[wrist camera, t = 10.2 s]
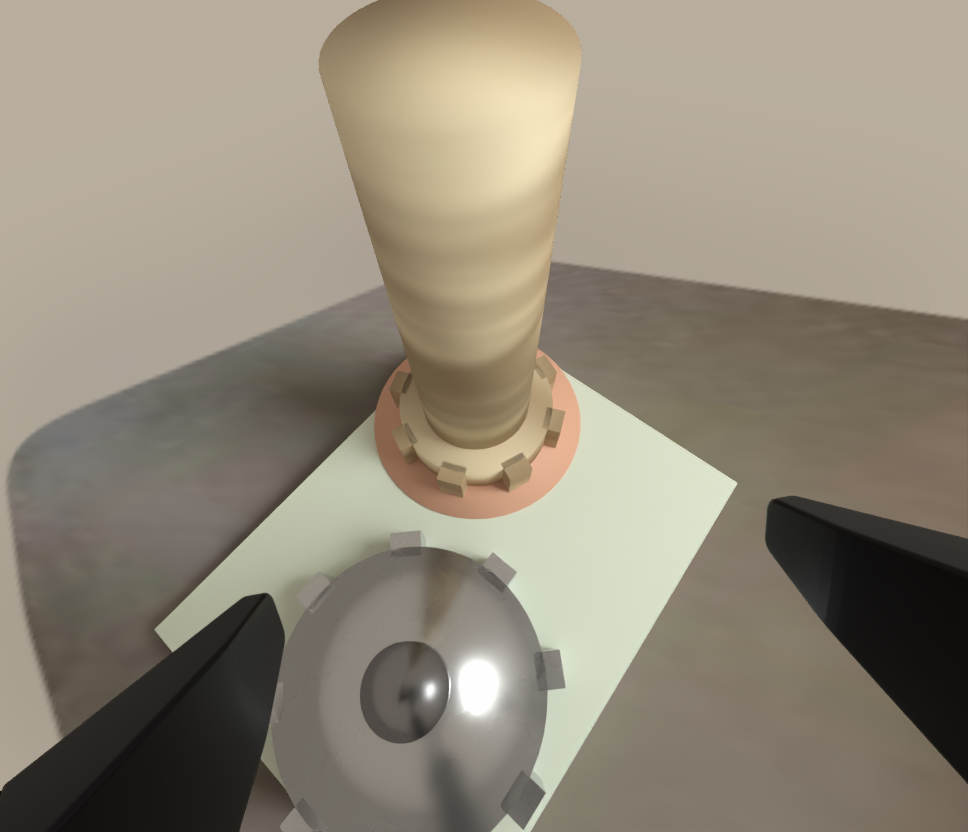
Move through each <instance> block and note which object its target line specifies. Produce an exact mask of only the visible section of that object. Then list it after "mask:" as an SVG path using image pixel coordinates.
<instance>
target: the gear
mask: <svg viewBox="0 0 968 832" xmlns="http://www.w3.org/2000/svg"><path fill="white" fill-rule="evenodd" d="M390 540H391V550H388V551H385V552H382V553H379V554H375V555H373V556H371V557H369V558H366V559H364V560H362V561H360V562H358V563H356V564H355V565H353V566H352V567H350V568H348V569H347V570H345V571H344V572H342V573H341V574H340V575H339V576H337V577H336V578H334V577H332V576H330V575H327V574H324V573H322V572H318V573H317V574H316V575H315V576H314V577H313V578H312V579H311V581H310V582H309V583H308V584H307V585H306V586H305V587H304V588H303V589H302V590H301V591H300V593H299V594H298V595H297V596H296V599H297V600H298V601H299V602H300V603H301V604H302V605H303V606H304V607H305V608H306V610H305V612H304V613H303V615H302V616H301V618H300V619H299V621H298V623H297V624H296V626H295V628H294V630H293V632H292V634H291V636H290V638H289V640H288V642H287V644H286V647H285V649H284V652H283V656H282V661H281V666H280V672H279V677H278V682H277V687H276V693H275V698H274V703H273V708H272V714H271V719H270V724H271V728H272V739H273V748H274V753H275V757H276V762H277V767H278V770H279V773H280V775H281V778H282V781H283V784H284V787H285V789H286V791H287V793H288V795H289V797H290V799H291V801H292V803H293V805H294V809H293V810H292V811H291V812H290V814H289V815H288V816H287V818H286V819H285V820H284V821H283V823H282V824H281V825H280V829H281V830H282V831H283V832H491V831H492V830H493V829H494V828H495V827H496V826H497V824H498V823H499V822H500V821H501V820H502V819H503V818H504V817H505V816H506V815H507V814H508V815H509V816H510V817H511V818H512V819H513V820H514V821H515V822H516V823H517V824H518V825H519V826H520V827H521V828H522V829H523V830H524V829H525V827H526V825H527V824H528V822H529V820H530V819H531V817H532V815H533V814H534V812H535V810H536V809H537V807H538V805H539V804H540V802H541V800H542V799H543V797H544V795H545V794H546V792H545V789H544V786H543V783H542V780H541V777H540V776H539V775H538V774H537V773H535V772H534V771H533V768H534V766H535V763H536V760H537V758H538V755H539V751H540V748H541V744H542V740H543V736H544V731H545V723H546V716H547V696H548V690H554V689H563V688H566V686H565V680H564V674H563V667H562V661H561V655H560V650H559V649H546V650H541V647H540V644H539V641H538V638H537V634H536V632H535V630H534V627H533V625H532V623H531V621H530V619H529V617H528V615H527V613H526V611H525V610H524V608H523V607H522V605H521V603H520V602H519V600H518V599H517V598H516V596H515V595H514V594H513V593H512V591H511V590H510V589H509V588H508V587H509V585H510V584H511V583H512V581H513V580H514V578H515V577H516V574H517V572H516V571H515V570H514V569H513V568H511V567H510V566H509V565H508V564H507V563H505V562H504V561H503V560H502V559H501V558H499V557H498V556H497V555H496V554H494V553H493V552H492V554H491V555H490V556H489V557H488V559H487V560H486V561H485V563H484V564H483V565H481V564H479V563H478V562H476V561H474V560H472V559H470V558H468V557H466V556H464V555H461V554H458V553H456V552H453V551H449V550H444V549H440V548H433V547H427V545H426V538H425V536H424V535H423V533H422V532H421V531H420V530H418V531H409V532H399V533H390Z"/></svg>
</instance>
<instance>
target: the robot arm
mask: <svg viewBox="0 0 968 832" xmlns="http://www.w3.org/2000/svg"><path fill="white" fill-rule="evenodd" d="M765 542H766V545H767V548H768V550H769V552H770V553H771V554H772V556H773V557H774V558H775V560H776V561H777V562H778V564H779V565H780V566H781V568H782V569H783V570H784V572H785V573H786V574H787V576H788V577H789V578H790V580H791V581H792V582H793V584H794V585H795V586H796V588H797V589H798V590H799V592H800V593H801V594H802V596H803V597H804V598H805V600H806V601H807V602H808V604H809V605H810V606H811V608H812V609H813V610H814V612H815V613H816V614H817V615H818V617H819V618H820V619H821V620H822V622H823V623H824V624H825V625H826V627H827V628H828V629H829V630H830V631H831V632H832V634H833V635H834V636H835V637H836V638H837V639H838V640H839V642H840V643H841V644H842V645H843V646H844V647H845V648H846V649H847V650H848V652H849V653H850V654H851V655H852V656H853V657H854V658H855V659H856V660H857V661H858V663H859V664H860V665H861V666H862V667H863V668H864V669H865V670H866V671H867V673H868V674H869V675H870V676H871V677H872V678H873V679H874V680H875V681H876V683H877V684H878V685H879V686H880V687H881V688H882V689H883V690H884V691H885V693H886V694H887V695H888V696H889V697H890V698H891V699H892V700H893V701H894V703H895V704H896V705H897V706H898V707H899V708H900V709H901V710H902V711H903V713H904V714H905V715H906V716H907V717H908V718H909V719H910V720H911V721H912V723H913V724H914V725H915V726H916V727H917V728H918V729H919V730H920V731H921V733H922V734H923V735H924V736H925V737H926V738H927V739H928V740H929V741H930V743H931V744H932V745H933V746H934V747H935V748H936V749H937V750H938V751H939V753H940V754H941V755H942V756H943V757H944V758H945V759H946V760H947V761H948V763H949V764H950V765H951V766H952V767H953V768H954V769H955V770H956V771H957V773H958V774H959V775H960V776H961V777H962V778H963V779H964V780H965V781H966V783H967V784H968V539H967V538H963V537H959V536H955V535H951V534H947V533H943V532H939V531H935V530H930V529H926V528H922V527H918V526H914V525H910V524H906V523H902V522H898V521H894V520H890V519H886V518H882V517H878V516H874V515H870V514H866V513H862V512H858V511H854V510H850V509H846V508H842V507H838V506H834V505H830V504H826V503H822V502H818V501H814V500H810V499H806V498H802V497H798V496H787V497H782V498H776V499H772V500H771V501H770V502H769V503H768V505H767V515H766V529H765ZM284 645H285V632H284V628H283V625H282V622H281V619H280V616H279V614H278V611H277V608H276V605H275V602H274V600H273V598H272V596H271V595H270V594H268V593H260V594H254V595H249V596H245V597H242V598H241V599H240V600H238V601H237V602H236V603H235V604H233V605H232V606H231V607H230V608H228V609H227V610H226V611H224V612H223V613H222V614H221V615H219V616H218V617H217V618H216V619H214V620H213V621H212V622H210V623H209V624H208V625H207V626H205V627H204V628H203V629H202V630H200V631H199V632H198V633H197V634H195V635H194V636H193V637H191V638H190V639H189V640H188V641H186V642H185V643H184V644H183V645H181V646H180V647H179V648H177V649H176V650H175V651H174V652H172V653H171V654H170V655H169V656H167V657H166V658H165V659H164V660H162V661H161V662H160V663H158V664H157V665H156V666H155V667H153V668H152V669H151V670H150V671H148V672H147V673H146V674H144V675H143V676H142V677H141V678H139V679H138V680H137V681H136V682H134V683H133V684H132V685H130V686H129V687H128V688H127V689H125V690H124V691H123V692H122V693H120V694H119V695H118V696H117V697H115V698H114V699H113V700H111V701H110V702H109V703H108V704H106V705H105V706H104V707H103V708H101V709H100V710H99V711H97V712H96V713H95V714H94V715H92V716H91V717H90V718H89V719H87V720H86V721H85V722H84V723H82V724H81V725H80V726H78V727H77V728H76V729H75V730H73V731H72V732H71V733H70V734H68V735H67V736H66V737H64V738H63V739H62V740H61V741H59V742H58V743H57V744H56V745H54V746H53V747H52V748H51V749H50V750H48V751H47V752H45V753H44V754H43V755H42V756H40V757H39V758H38V759H37V760H35V761H34V762H33V763H31V764H30V765H29V766H28V767H27V768H25V769H24V770H23V771H21V772H20V773H19V774H17V775H16V776H15V777H14V778H12V779H11V780H10V781H9V782H7V783H6V784H5V785H4V787H3V789H2V791H0V832H239V830H240V827H241V823H242V820H243V816H244V813H245V810H246V806H247V803H248V800H249V796H250V793H251V789H252V786H253V783H254V779H255V776H256V773H257V769H258V766H259V762H260V759H261V756H262V752H263V749H264V745H265V741H266V737H267V733H268V728H269V724H270V719H271V714H272V708H273V703H274V698H275V693H276V687H277V682H278V677H279V672H280V666H281V661H282V656H283V651H284Z"/></svg>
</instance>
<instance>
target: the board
mask: <svg viewBox="0 0 968 832" xmlns="http://www.w3.org/2000/svg"><path fill="white" fill-rule="evenodd" d="M543 355H545V356H546V357H547V359H548V360H549V362H550V363H551V364H552V366H553V367H554V368H555V370H556V371H557V374H556V378H555V382H554V387H553V391H551V392H552V399H553V408H554V409H558V410H562V411H566V412H565V416H564V420H563V424H562V429H561V433H560V436H559V439H558V442H557V445H556V448H553V447H549V446H545V445H543V447H542V449H541V451H540V452H539V454H538V455H537V457H536V458H535V460H534V461H533V462H532V463H531V464H530V465H531V466H532V473H531V477H530V481H529V482H527V483H525V484H524V485H522V486H520V487H518V488H516V489H515V490H513V491H511V492H509V491H508V490H507V488H506V486H505V485H504V483H503V482H500V483H497V484H493V485H487V486H467V488H466V492H465V495H464V498H462V497H459V496H455V495H452V494H448V493H444V492H441V491H440V488H439V485H438V482H437V475H436V474H434V473H433V472H431V471H430V470H429V469H428V468H426V467H425V466H424V465H423V464H422V462H421V461H420V460H419V459H418V460H416V461H414V462H412V463H410V464H408V465H407V463H406V461H405V459H404V457H403V455H402V453H401V451H400V449H399V447H398V445H397V443H396V441H395V439H394V437H393V435H392V433H391V430H393V429H395V428H397V427H399V426H401V425H402V422H401V418H400V410H399V408H396V405H395V403H394V400H393V398H392V396H391V393H390V391H389V389H390V387H391V384H392V382H393V380H394V377H395V375H396V373H397V371H401V372H405V373H410V371H411V369H410V365H409V362H408V359H405V360H404V361H403V362H402V363H401V364H400V365H399V366H398V368H397V369H396V370H395V371H394V372H393V374H392V375H391V376H390V378H389V379H388V381H387V382H386V384H385V386H384V388H383V390H382V392H381V395H380V398H379V400H378V403H377V408H376V410H375V411H374V412H373V413H372V414H371V415H370V416H369V417H368V418H367V419H366V420H365V421H364V422H363V423H362V424H361V425H360V426H359V427H358V428H357V429H356V430H355V431H354V432H353V433H352V434H351V435H350V436H349V437H348V438H347V439H346V440H345V441H344V442H343V443H342V444H341V445H340V446H339V447H338V448H337V449H336V450H335V451H334V452H333V453H332V454H331V455H330V456H329V457H328V458H327V459H326V460H325V461H324V462H323V463H322V464H321V465H320V466H319V467H318V468H317V469H316V470H315V471H314V472H313V473H312V474H311V475H310V476H309V477H308V478H307V479H306V480H305V481H304V482H303V483H302V484H301V485H300V486H299V487H298V488H297V489H296V490H295V491H294V492H293V493H292V494H291V495H290V496H289V497H288V498H287V499H286V500H285V501H284V502H283V503H282V504H281V505H280V506H278V507H277V508H276V509H275V510H274V511H273V512H272V513H271V514H270V515H269V516H268V517H267V518H266V519H265V520H264V521H263V522H262V523H261V524H260V525H259V526H258V527H257V528H256V529H255V530H254V531H253V532H252V533H251V534H250V535H249V536H248V537H247V538H246V539H245V540H244V541H243V542H242V543H241V544H240V545H239V546H238V547H237V548H236V549H235V550H234V551H233V552H232V553H231V554H230V555H229V556H228V557H227V558H226V559H225V560H224V561H223V562H222V563H221V564H220V565H219V566H218V567H217V568H216V569H215V570H214V571H213V572H212V573H211V574H210V575H209V576H208V577H207V578H206V579H205V580H204V581H203V582H202V583H201V584H200V585H199V586H198V587H197V588H196V589H195V590H194V591H193V592H192V593H191V594H190V595H189V596H188V597H187V598H186V599H185V600H184V601H183V602H182V603H181V604H180V605H179V606H178V607H177V608H176V609H175V610H174V611H173V612H172V613H171V614H170V615H169V616H168V617H167V618H166V619H165V620H163V621H162V622H161V623H160V624H159V625H158V626H157V627H156V628H155V629H154V630H155V631H156V632H157V634H158V635H159V636H160V637H161V639H162V640H163V641H164V642H165V643H166V645H167V646H168V647H169V648H170V650H171V651H172V652H174V651H175V650H176V649H177V648H179V647H180V646H181V645H183V644H184V643H185V642H186V641H188V640H189V639H190V638H191V637H193V636H194V635H195V634H197V633H198V632H199V631H200V630H202V629H203V628H204V627H205V626H207V625H208V624H209V623H210V622H212V621H213V620H214V619H216V618H217V617H218V616H219V615H221V614H222V613H223V612H224V611H226V610H227V609H228V608H230V607H231V606H232V605H233V604H235V603H236V602H237V601H238V600H240V599H241V598H242V597H245V596H249V595H254V594H260V593H268V594H270V595H271V596H272V598H273V600H274V602H275V605H276V608H277V611H278V614H279V616H280V619H281V622H282V625H283V628H284V632H285V645H284V649H285V647H286V644H287V642H288V640H289V638H290V636H291V634H292V632H293V630H294V628H295V626H296V624H297V623H298V621H299V619H300V618H301V616H302V615H303V613H304V612H305V610H306V608H305V607H304V606H303V605H302V604H301V603H300V602H299V601H298V600H297V599H296V596H297V595H298V594H299V593H300V591H301V590H302V589H303V588H304V587H305V586H306V585H307V584H308V583H309V582H310V581H311V579H312V578H313V577H314V576H315V575H316V574H317V573H318V572H322V573H324V574H327V575H330V576H332V577H334V578H336V577H337V576H339V575H340V574H341V573H342V572H344V571H345V570H347V569H348V568H350V567H352V566H353V565H355V564H356V563H358V562H360V561H362V560H364V559H366V558H369V557H371V556H373V555H375V554H379V553H382V552H385V551H388V550H391V540H390V533H399V532H409V531H418V530H420V531H421V532H422V533H423V535H424V536H425V538H426V545H427V547H433V548H440V549H444V550H449V551H453V552H456V553H458V554H461V555H464V556H466V557H468V558H470V559H472V560H474V561H476V562H478V563H479V564H481V565H483V564H484V563H485V561H486V560H487V559H488V557H489V556H490V555H491V554H492V552H493V553H494V554H496V555H497V556H498V557H499V558H501V559H502V560H503V561H504V562H505V563H507V564H508V565H509V566H510V567H511V568H513V569H514V570H515V571H516V572H517V574H516V577H515V578H514V580H513V581H512V583H511V584H510V585H509V587H508V588H509V589H510V590H511V591H512V593H513V594H514V595H515V596H516V598H517V599H518V600H519V602H520V603H521V605H522V607H523V608H524V610H525V611H526V613H527V615H528V617H529V619H530V621H531V623H532V625H533V627H534V630H535V632H536V634H537V638H538V641H539V644H540V647H541V650H546V649H559V650H560V655H561V661H562V667H563V674H564V680H565V686H566V688H563V689H554V690H548V696H547V716H546V723H545V731H544V736H543V740H542V744H541V748H540V751H539V755H538V758H537V760H536V763H535V766H534V768H533V771H534V772H535V773H537V774H538V775H539V776H540V777H541V780H542V783H543V786H544V789H545V792H546V794H545V795H544V797H543V799H542V800H541V802H540V804H539V805H538V807H537V809H536V810H535V812H534V814H533V815H532V817H531V819H530V820H529V822H528V824H527V825H526V827H525V829H524V830H523V829H522V828H521V827H520V826H519V825H518V824H517V823H516V822H515V821H514V820H513V819H512V818H511V817H510V816H509V815H508V814H507V815H506V816H505V817H504V818H503V819H502V820H501V821H500V822H499V823H498V824H497V826H496V827H495V828H494V829H493V830H492V831H491V832H530V831H531V830H532V828H533V826H534V825H535V823H536V821H537V820H538V818H539V816H540V815H541V813H542V811H543V810H544V808H545V806H546V805H547V803H548V801H549V799H550V798H551V796H552V794H553V793H554V791H555V789H556V788H557V786H558V784H559V783H560V781H561V779H562V778H563V776H564V774H565V773H566V771H567V769H568V768H569V766H570V764H571V762H572V761H573V759H574V757H575V756H576V754H577V752H578V751H579V749H580V747H581V746H582V744H583V742H584V741H585V739H586V737H587V736H588V734H589V732H590V730H591V729H592V727H593V725H594V724H595V722H596V720H597V719H598V717H599V715H600V714H601V712H602V710H603V709H604V707H605V705H606V704H607V702H608V700H609V699H610V697H611V695H612V693H613V692H614V690H615V688H616V687H617V685H618V683H619V682H620V680H621V678H622V677H623V675H624V673H625V672H626V670H627V668H628V667H629V665H630V663H631V662H632V660H633V658H634V656H635V655H636V653H637V651H638V650H639V648H640V646H641V645H642V643H643V641H644V640H645V638H646V636H647V635H648V633H649V631H650V630H651V628H652V626H653V625H654V623H655V621H656V619H657V618H658V616H659V614H660V613H661V611H662V609H663V608H664V606H665V604H666V603H667V601H668V599H669V598H670V596H671V594H672V593H673V591H674V589H675V587H676V586H677V584H678V582H679V581H680V579H681V577H682V576H683V574H684V572H685V571H686V569H687V567H688V566H689V564H690V562H691V561H692V559H693V557H694V556H695V554H696V552H697V550H698V549H699V547H700V545H701V544H702V542H703V540H704V539H705V537H706V535H707V534H708V532H709V530H710V529H711V527H712V525H713V524H714V522H715V520H716V519H717V517H718V515H719V513H720V512H721V510H722V508H723V507H724V505H725V503H726V502H727V500H728V498H729V497H730V495H731V493H732V492H733V490H734V488H735V487H736V485H737V482H735V481H734V480H732V479H730V478H729V477H727V476H726V475H724V474H723V473H721V472H720V471H718V470H716V469H715V468H713V467H712V466H710V465H709V464H707V463H706V462H704V461H702V460H701V459H699V458H698V457H696V456H695V455H693V454H692V453H690V452H688V451H687V450H685V449H684V448H682V447H681V446H679V445H678V444H676V443H674V442H673V441H671V440H670V439H668V438H667V437H665V436H664V435H662V434H660V433H659V432H657V431H656V430H654V429H653V428H651V427H650V426H648V425H646V424H645V423H643V422H642V421H640V420H639V419H637V418H636V417H634V416H632V415H631V414H629V413H628V412H626V411H625V410H623V409H622V408H620V407H618V406H617V405H615V404H614V403H612V402H611V401H609V400H608V399H606V398H604V397H603V396H601V395H600V394H598V393H597V392H595V391H594V390H592V389H590V388H589V387H587V386H586V385H584V384H583V383H581V382H580V381H578V380H576V379H575V378H573V377H572V376H570V375H569V374H567V373H566V372H564V371H563V370H561V369H560V368H559V367H558V365H557V364H556V363H555V362H554V361H553V360H551V359H550V358H549V357H548V356H547V355H546V354H544V353H543V352H542V351H540V350H539V349H537V355H536V359H537V358H539V357H541V356H543ZM283 652H284V651H283ZM261 760H262V761H263V763H264V764H265V765H266V766H267V767H268V769H269V770H270V771H271V772H272V774H273V775H274V776H275V777H276V778H277V780H278V781H279V782H280V783H281V784H282V786H283V787H284V784H283V781H282V778H281V775H280V773H279V770H278V767H277V762H276V757H275V753H274V748H273V739H272V728H271V724H269V728H268V733H267V737H266V741H265V745H264V749H263V752H262V756H261ZM284 788H285V787H284Z"/></svg>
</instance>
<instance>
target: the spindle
mask: <svg viewBox="0 0 968 832" xmlns="http://www.w3.org/2000/svg"><path fill="white" fill-rule="evenodd" d="M581 59H582V48H581V44H580V40H579V37H578V35H577V33H576V31H575V30H574V28H573V27H572V26H571V25H570V23H569V22H568V21H567V20H566V19H565V18H564V17H563V16H562V15H561V14H559V13H558V12H556V11H555V10H554V9H552V8H551V7H548V6H547V5H545V4H543V3H541V2H539V1H537V0H378V1H376V2H373V3H371V4H369V5H367V6H365V7H364V8H361V9H359V10H358V11H356V12H354V13H353V14H351V15H350V16H349V17H347V18H346V19H345V20H343V21H342V22H341V23H340V24H339V25H337V27H336V28H335V29H334V30H333V31H332V32H331V33H330V35H329V36H328V38H327V39H326V41H325V42H324V44H323V47H322V49H321V52H320V57H319V72H320V75H321V79H322V82H323V85H324V89H325V92H326V95H327V98H328V102H329V105H330V108H331V111H332V115H333V118H334V121H335V124H336V128H337V131H338V134H339V137H340V141H341V144H342V147H343V150H344V154H345V157H346V160H347V163H348V167H349V170H350V173H351V176H352V180H353V183H354V186H355V190H356V193H357V196H358V199H359V202H360V206H361V209H362V212H363V216H364V219H365V222H366V225H367V228H368V232H369V235H370V238H371V242H372V245H373V248H374V251H375V254H376V258H377V261H378V264H379V267H380V271H381V274H382V277H383V281H384V284H385V287H386V290H387V294H388V297H389V300H390V303H391V307H392V310H393V313H394V316H395V320H396V323H397V326H398V329H399V333H400V336H401V339H402V342H403V346H404V349H405V352H406V355H407V359H408V362H409V365H410V369H411V371H410V373H405V372H401V371H397V373H396V375H395V377H394V380H393V382H392V384H391V387H390V389H389V391H390V393H391V396H392V398H393V400H394V403H395V405H396V408H399V410H400V418H401V422H402V425H401V426H399V427H397V428H395V429H393V430H391V433H392V435H393V437H394V439H395V441H396V443H397V445H398V447H399V449H400V451H401V453H402V455H403V457H404V459H405V461H406V463H407V465H408V464H410V463H412V462H414V461H416V460H418V459H419V460H420V461H421V462H422V464H423V465H424V466H425V467H426V468H428V469H429V470H430V471H431V472H433V473H434V474H436V475H437V482H438V485H439V488H440V491H441V492H444V493H448V494H452V495H455V496H459V497H462V498H464V495H465V492H466V488H467V486H487V485H493V484H497V483H500V482H503V483H504V485H505V486H506V488H507V490H508V491H509V492H511V491H513V490H515V489H516V488H518V487H520V486H522V485H524V484H525V483H527V482H529V481H530V477H531V473H532V466H531V465H530V464H531V463H532V462H533V461H534V460H535V458H536V457H537V455H538V454H539V452H540V451H541V449H542V447H543V445H545V446H549V447H553V448H556V445H557V442H558V439H559V436H560V433H561V429H562V424H563V420H564V416H565V412H566V411H562V410H558V409H554V408H553V399H552V392H551V391H553V387H554V382H555V378H556V374H557V371H556V370H555V368H554V367H553V366H552V364H551V363H550V362H549V360H548V359H547V357H546V356H545V355H543V356H541V357H539V358H537V359H536V355H537V349H538V342H539V335H540V329H541V322H542V316H543V309H544V303H545V296H546V290H547V283H548V276H549V270H550V263H551V256H552V250H553V243H554V237H555V230H556V224H557V217H558V211H559V204H560V198H561V191H562V185H563V178H564V171H565V164H566V158H567V152H568V145H569V138H570V132H571V125H572V119H573V112H574V106H575V99H576V93H577V86H578V80H579V73H580V66H581Z"/></svg>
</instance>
